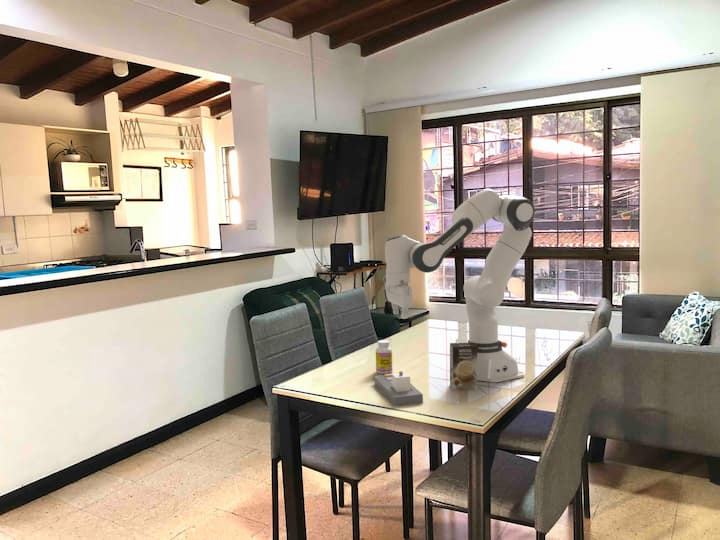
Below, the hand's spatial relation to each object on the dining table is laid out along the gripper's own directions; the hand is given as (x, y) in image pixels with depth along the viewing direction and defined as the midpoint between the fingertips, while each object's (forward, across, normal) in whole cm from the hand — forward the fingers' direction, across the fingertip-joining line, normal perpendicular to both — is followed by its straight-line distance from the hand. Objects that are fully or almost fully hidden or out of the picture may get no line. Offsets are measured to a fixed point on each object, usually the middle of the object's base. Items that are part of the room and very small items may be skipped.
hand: (400, 316), depth 211 cm
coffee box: (+27, -9, -20) cm, 35 cm away
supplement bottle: (+27, +20, +1) cm, 34 cm away
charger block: (+27, -12, +5) cm, 29 cm away
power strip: (+26, -6, +5) cm, 28 cm away
